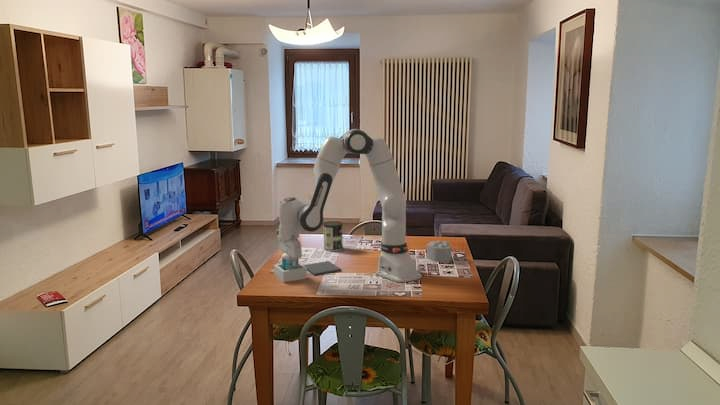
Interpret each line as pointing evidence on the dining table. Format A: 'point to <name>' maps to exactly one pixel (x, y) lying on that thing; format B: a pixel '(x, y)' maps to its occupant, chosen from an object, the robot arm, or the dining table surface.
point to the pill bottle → (288, 262)
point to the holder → (290, 273)
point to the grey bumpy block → (439, 251)
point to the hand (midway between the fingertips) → (290, 262)
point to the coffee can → (333, 236)
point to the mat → (322, 268)
